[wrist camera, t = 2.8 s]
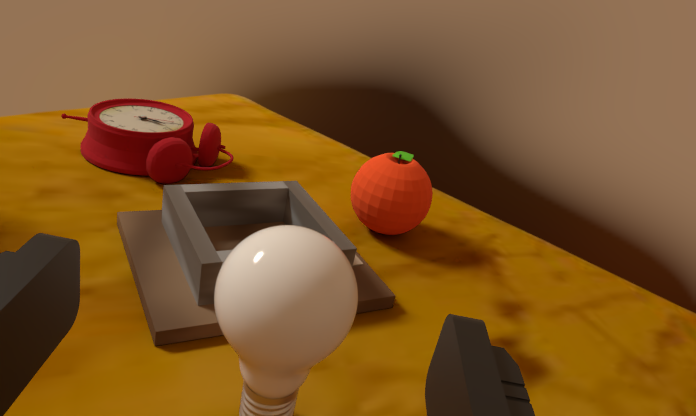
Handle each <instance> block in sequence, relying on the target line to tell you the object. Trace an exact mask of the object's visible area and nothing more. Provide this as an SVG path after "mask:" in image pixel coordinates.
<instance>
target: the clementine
mask: <svg viewBox="0 0 696 416" xmlns="http://www.w3.org/2000/svg"><path fill="white" fill-rule="evenodd" d="M432 194H433V193H432V187H431V182H430V179H429V177H428V175H427V173H426V171H425V170H424V169H423V168H422V167H421V166H420V165H419V164H418V162H416V161H415V160H414V159H413V155H412V154H409V153H406V152H402V151H399V152H396V153H386V154H382V155H379V156H376V157H373V158H371V159H370V160H369V161H367V162H366V163H365V164H363V165H362V167H361V168H360V169H359V171H358V172H357V174H356V175H355V177H354V180H353V182H352V185H351V202H352V206H353V209H354V211H355V213H356V214H357V216H358V218H359V220H360V221H361V222H362V223H363V224H365V225H366V226H367V227H368V228H370V229H371V230H373V231H375V232H378V233H381V234H386V235H396V234H401V233H405V232H408V231H410V230H411V229H413V228H414V227H416V226H417V225H418V224H420V223H421V221H422V220H423V219H424V218H425V217H426V215H427V213H428V211H429V208H430V205H431V201H432Z"/></svg>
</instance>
